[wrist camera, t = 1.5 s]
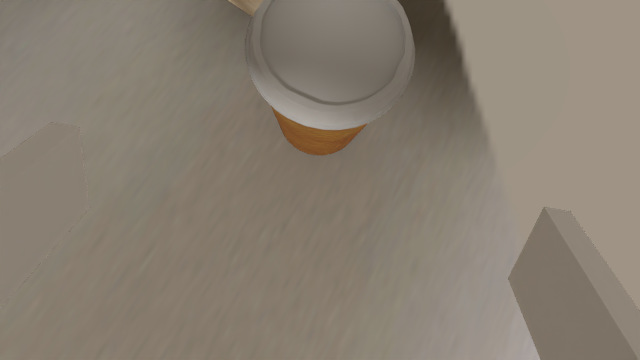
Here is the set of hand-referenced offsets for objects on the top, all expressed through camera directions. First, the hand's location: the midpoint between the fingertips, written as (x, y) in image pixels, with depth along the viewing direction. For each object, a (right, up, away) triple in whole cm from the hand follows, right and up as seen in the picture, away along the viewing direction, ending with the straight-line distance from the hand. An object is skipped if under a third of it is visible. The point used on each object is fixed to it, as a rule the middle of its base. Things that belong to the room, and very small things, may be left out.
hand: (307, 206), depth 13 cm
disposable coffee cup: (0, +6, +23) cm, 24 cm away
